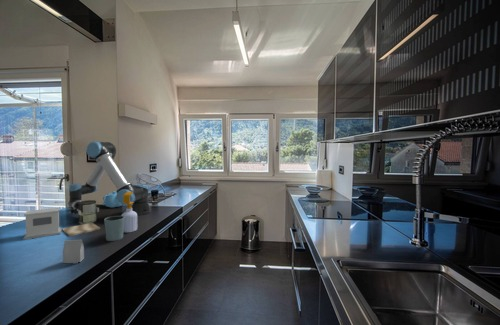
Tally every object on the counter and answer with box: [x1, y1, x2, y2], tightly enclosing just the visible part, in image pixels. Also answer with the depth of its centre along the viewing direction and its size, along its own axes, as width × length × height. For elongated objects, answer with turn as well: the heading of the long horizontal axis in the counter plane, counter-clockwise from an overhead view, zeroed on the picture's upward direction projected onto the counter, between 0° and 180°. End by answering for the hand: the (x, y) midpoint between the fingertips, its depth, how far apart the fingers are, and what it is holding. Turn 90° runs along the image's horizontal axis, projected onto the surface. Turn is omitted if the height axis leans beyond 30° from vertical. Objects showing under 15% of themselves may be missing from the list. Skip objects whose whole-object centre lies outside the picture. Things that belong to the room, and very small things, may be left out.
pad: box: [61, 222, 101, 237], centre depth 146 cm, size 16×16×1 cm
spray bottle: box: [120, 192, 138, 233], centre depth 146 cm, size 9×9×25 cm
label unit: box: [23, 207, 62, 241], centre depth 137 cm, size 16×10×14 cm, turn 127°
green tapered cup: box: [103, 215, 124, 242], centre depth 133 cm, size 10×10×12 cm
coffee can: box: [78, 199, 97, 225], centre depth 163 cm, size 10×10×14 cm
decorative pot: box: [102, 190, 124, 209], centre depth 206 cm, size 16×16×14 cm
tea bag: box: [62, 239, 85, 264], centre depth 105 cm, size 4×7×10 cm, turn 105°
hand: (89, 211), depth 160 cm, fingers closed on coffee can, 10 cm apart
